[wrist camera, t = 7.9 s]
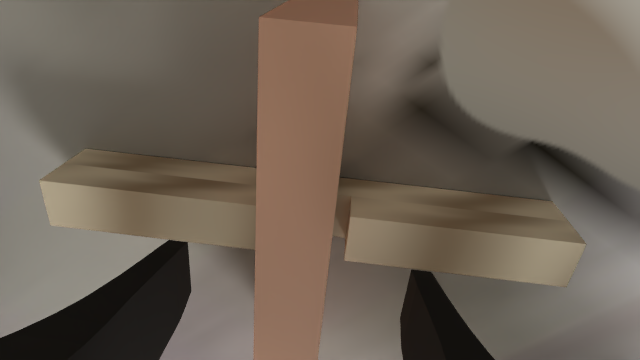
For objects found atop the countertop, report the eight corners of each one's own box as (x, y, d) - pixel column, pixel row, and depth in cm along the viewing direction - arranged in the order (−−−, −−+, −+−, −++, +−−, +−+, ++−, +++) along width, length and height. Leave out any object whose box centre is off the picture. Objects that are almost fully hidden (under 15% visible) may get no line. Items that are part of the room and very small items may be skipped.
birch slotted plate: (552, 201, 18) (586, 244, 15) (536, 240, 19) (566, 287, 16) (85, 148, 18) (39, 180, 16) (93, 188, 19) (50, 225, 17)
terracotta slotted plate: (301, -7, 15) (258, 17, 9) (358, -1, 15) (357, 27, 8) (282, 324, 22) (251, 464, 16) (319, 328, 22) (304, 471, 16)
